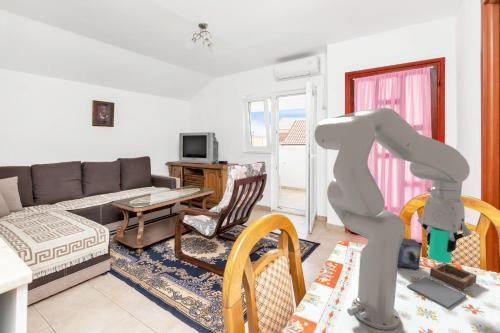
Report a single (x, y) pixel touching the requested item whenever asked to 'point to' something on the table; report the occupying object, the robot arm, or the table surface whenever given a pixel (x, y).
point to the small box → (409, 254)
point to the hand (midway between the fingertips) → (440, 247)
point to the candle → (439, 245)
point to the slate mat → (436, 292)
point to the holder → (462, 284)
